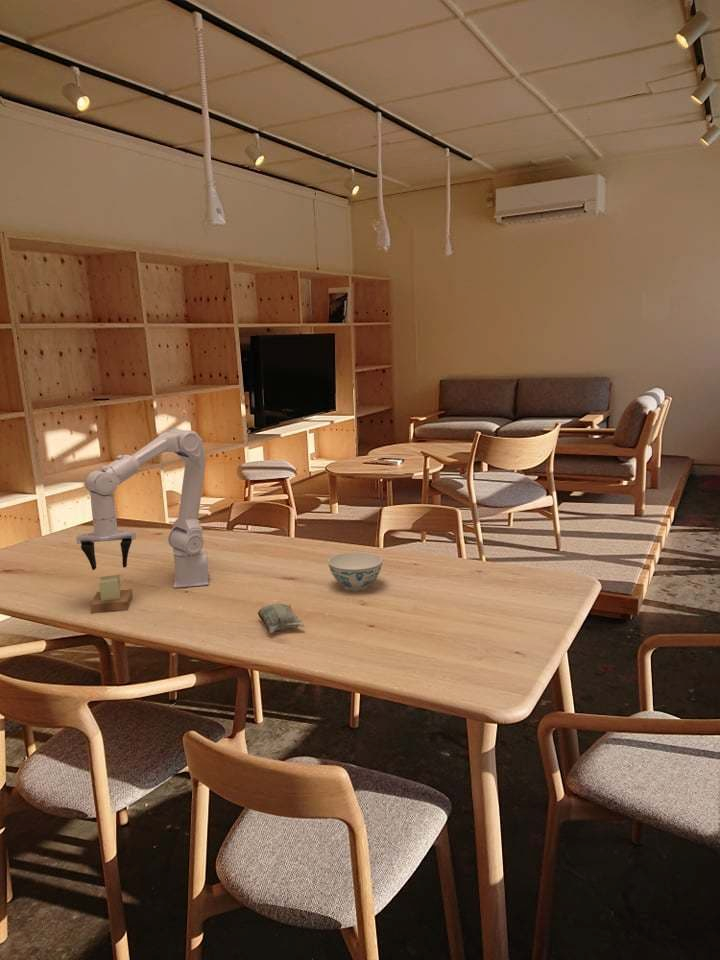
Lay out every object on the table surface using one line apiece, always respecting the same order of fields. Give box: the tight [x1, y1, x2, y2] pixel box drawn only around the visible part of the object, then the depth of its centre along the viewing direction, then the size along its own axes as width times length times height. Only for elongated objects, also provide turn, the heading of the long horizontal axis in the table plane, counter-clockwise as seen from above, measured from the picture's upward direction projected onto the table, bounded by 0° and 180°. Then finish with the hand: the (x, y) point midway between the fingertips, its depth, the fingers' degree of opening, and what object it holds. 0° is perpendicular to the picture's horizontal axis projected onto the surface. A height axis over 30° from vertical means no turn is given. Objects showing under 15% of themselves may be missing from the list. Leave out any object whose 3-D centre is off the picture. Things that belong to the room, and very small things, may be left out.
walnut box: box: [90, 588, 134, 614], centre depth 184 cm, size 9×9×3 cm
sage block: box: [98, 574, 122, 601], centre depth 183 cm, size 4×4×5 cm
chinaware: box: [327, 551, 383, 592], centre depth 193 cm, size 15×15×8 cm
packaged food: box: [257, 602, 305, 634], centre depth 168 cm, size 9×12×5 cm
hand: (109, 567), depth 183 cm, fingers open, 7 cm apart
